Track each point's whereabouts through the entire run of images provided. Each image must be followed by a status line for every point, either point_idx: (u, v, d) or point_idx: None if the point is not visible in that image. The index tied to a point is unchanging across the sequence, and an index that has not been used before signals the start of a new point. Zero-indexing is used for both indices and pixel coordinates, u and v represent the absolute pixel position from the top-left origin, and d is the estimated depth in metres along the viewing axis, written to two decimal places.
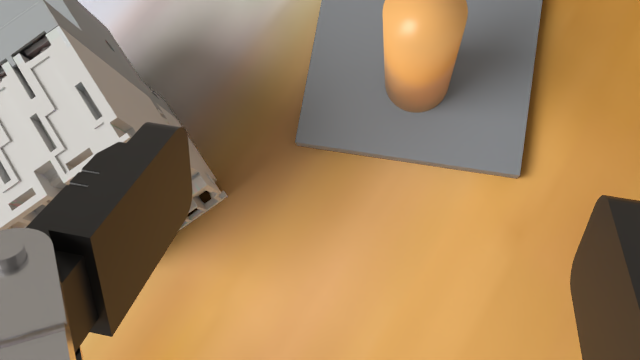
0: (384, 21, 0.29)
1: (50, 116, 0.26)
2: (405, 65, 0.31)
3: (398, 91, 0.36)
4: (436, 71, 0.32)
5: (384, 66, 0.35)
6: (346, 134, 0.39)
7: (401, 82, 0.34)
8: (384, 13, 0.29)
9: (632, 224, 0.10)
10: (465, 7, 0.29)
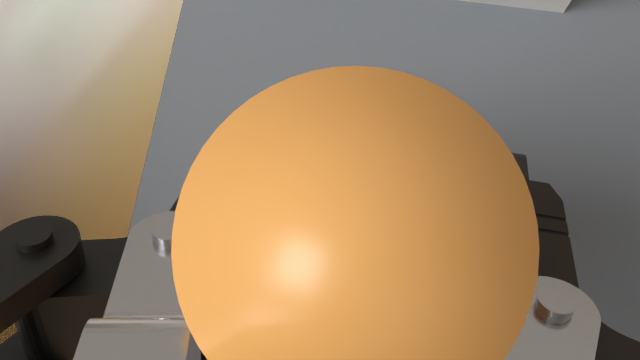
0: (177, 272, 0.07)
1: None
2: None
3: None
4: None
5: None
6: None
7: None
8: (180, 235, 0.07)
9: None
10: (527, 226, 0.06)
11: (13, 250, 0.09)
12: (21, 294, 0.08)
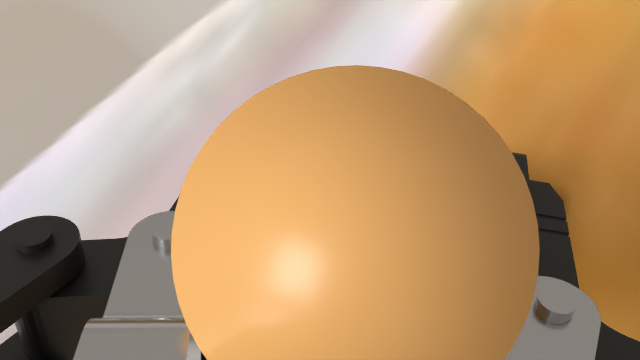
0: (177, 272, 0.07)
1: None
2: None
3: None
4: None
5: None
6: None
7: None
8: (180, 235, 0.07)
9: None
10: (528, 226, 0.06)
11: (13, 250, 0.09)
12: (21, 294, 0.08)
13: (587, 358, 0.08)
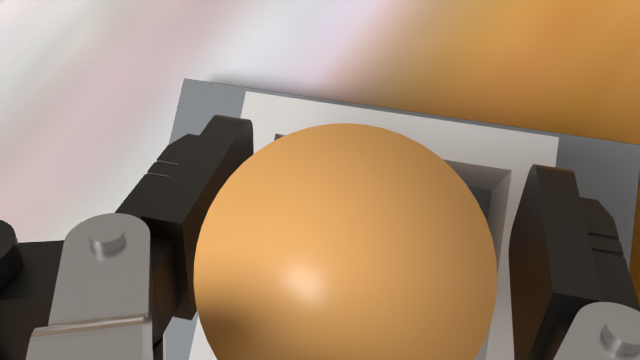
0: (198, 297, 0.08)
1: None
2: None
3: None
4: None
5: None
6: None
7: None
8: (201, 265, 0.08)
9: (555, 189, 0.11)
10: (488, 260, 0.08)
11: None
12: None
13: None
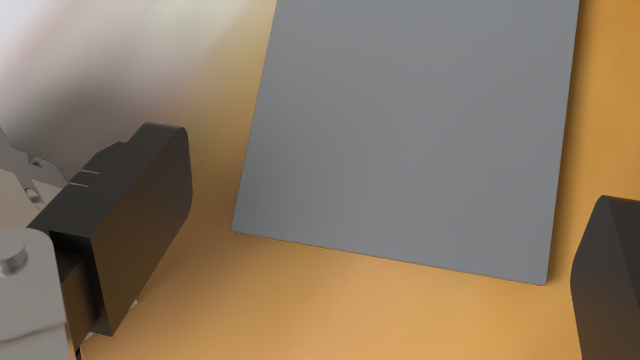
0: None
1: None
2: None
3: None
4: None
5: None
6: (301, 220, 0.28)
7: None
8: None
9: (632, 224, 0.10)
10: None
11: None
12: None
13: None
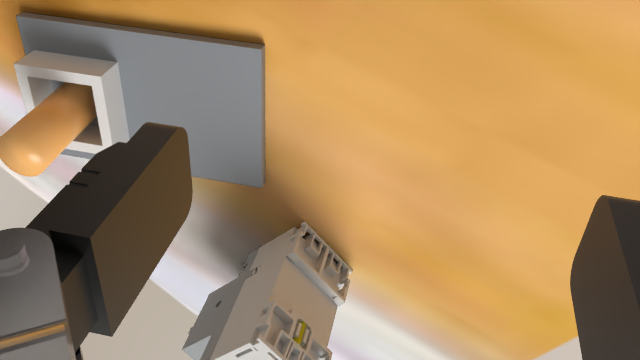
0: (35, 175, 0.49)
1: None
2: (60, 148, 0.50)
3: (87, 123, 0.54)
4: (57, 126, 0.50)
5: None
6: (251, 158, 0.56)
7: (76, 133, 0.52)
8: (30, 175, 0.49)
9: (632, 224, 0.10)
10: (8, 134, 0.47)
11: None
12: None
13: None
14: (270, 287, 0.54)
